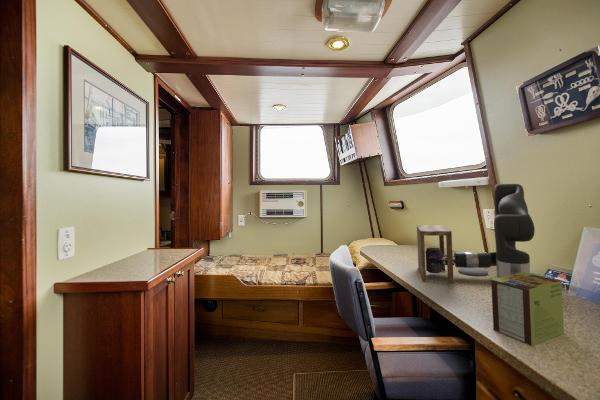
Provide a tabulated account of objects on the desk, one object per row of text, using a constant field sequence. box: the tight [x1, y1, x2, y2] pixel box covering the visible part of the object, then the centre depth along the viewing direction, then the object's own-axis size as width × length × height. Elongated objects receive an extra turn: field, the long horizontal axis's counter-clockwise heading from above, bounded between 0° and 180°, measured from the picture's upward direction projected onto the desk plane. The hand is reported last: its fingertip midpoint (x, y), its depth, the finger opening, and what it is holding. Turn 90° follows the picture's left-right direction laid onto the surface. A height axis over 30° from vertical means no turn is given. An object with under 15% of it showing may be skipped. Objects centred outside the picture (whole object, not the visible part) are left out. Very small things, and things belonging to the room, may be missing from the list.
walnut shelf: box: [416, 224, 455, 285], centre depth 140 cm, size 13×25×24 cm, turn 161°
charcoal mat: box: [457, 268, 489, 277], centre depth 141 cm, size 13×13×1 cm
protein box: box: [490, 272, 565, 347], centre depth 81 cm, size 10×15×16 cm
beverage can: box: [425, 247, 443, 274], centre depth 140 cm, size 7×7×12 cm
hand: (428, 259), depth 140 cm, fingers closed on beverage can, 6 cm apart
